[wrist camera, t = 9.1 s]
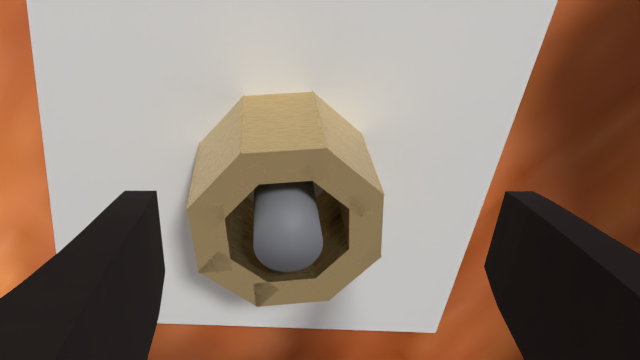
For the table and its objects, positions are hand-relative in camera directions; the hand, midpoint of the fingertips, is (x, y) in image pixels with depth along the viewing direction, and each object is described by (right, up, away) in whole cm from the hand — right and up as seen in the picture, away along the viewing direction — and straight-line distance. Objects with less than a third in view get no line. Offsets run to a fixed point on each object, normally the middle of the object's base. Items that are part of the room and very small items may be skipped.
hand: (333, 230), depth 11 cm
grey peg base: (-2, +2, +9) cm, 10 cm away
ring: (-2, +2, +8) cm, 8 cm away
